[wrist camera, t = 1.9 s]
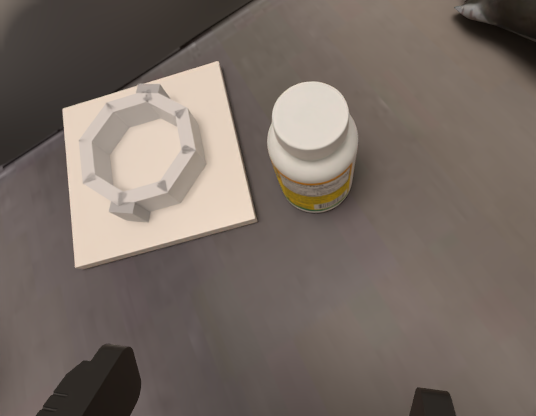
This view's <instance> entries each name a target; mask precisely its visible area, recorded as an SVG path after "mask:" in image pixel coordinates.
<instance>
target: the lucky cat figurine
mask: <svg viewBox="0 0 536 416" xmlns="http://www.w3.org/2000/svg"><path fill="white" fill-rule="evenodd" d="M454 8H455V9H456V10H457V11H458V12H460V13H461V14H462V15H463V16H465V17H466V18H468V19H471V20H475V21H479V22H483V23H488V24H492V25H495V26H498V27H500V28H503V29H506V30H508V31H511V32H513V33H515V34H518V35H520V36H522V37H525V38H527V39H529V40H531V41H534V42H536V0H466V3H465V4H464V5H462V6H456V7H454Z"/></svg>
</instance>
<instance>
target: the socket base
mask: <svg viewBox="0 0 536 416" xmlns="http://www.w3.org/2000/svg"><path fill="white" fill-rule="evenodd" d="M63 120H64V133H65V145H66V158H67V170H68V183H69V195H70V208H71V220H72V233H73V245H74V258H75V268H79V269H87V268H90V267H94V266H98V265H101V264H105V263H109V262H112V261H116V260H120V259H123V258H127V257H131V256H134V255H138V254H142V253H145V252H149V251H153V250H156V249H160V248H164V247H167V246H171V245H175V244H178V243H182V242H186V241H189V240H193V239H197V238H200V237H204V236H208V235H211V234H215V233H219V232H222V231H226V230H230V229H233V228H237V227H241V226H244V225H248V224H252V223H255V222H258V221H257V217H256V213H255V208H254V204H253V200H252V196H251V191H250V187H249V183H248V179H247V175H246V170H245V166H244V162H243V158H242V153H241V149H240V145H239V141H238V137H237V132H236V128H235V124H234V120H233V116H232V111H231V107H230V103H229V99H228V94H227V90H226V86H225V82H224V78H223V73H222V69H221V67H220V64H219V62H218V61H217V62H214V63H210V64H207V65H204V66H201V67H197V68H194V69H191V70H188V71H184V72H181V73H178V74H175V75H171V76H168V77H165V78H162V79H158V80H155V81H152V82H149V83H145V84H138V86H136V87H132V88H129V89H126V90H123V91H119V92H116V93H113V94H110V95H106V96H103V97H100V98H97V99H94V100H90V101H87V102H84V103H81V104H77V105H74V106H71V107H67V108H64V109H63Z"/></svg>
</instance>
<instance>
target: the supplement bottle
mask: <svg viewBox="0 0 536 416" xmlns="http://www.w3.org/2000/svg"><path fill="white" fill-rule="evenodd" d="M267 145H268V152H269V155H270V159H271V162H272V164H273V167H274V170H275V173H276V175H277V178H278V181H279V184H280V186H281V189H282V191H283V193H284V195H285V197H286V199H287V200H288V201H289V202H290V203H291V204H292V205H293V206H295V207H296V208H298V209H300V210H303V211H306V212H311V213H319V212H325V211H328V210H331V209H333V208H335V207H336V206H338V205H339V204H340V203H341V202H342V201H343V200H344V199H345V198H346V197H347V195H348V193H349V191H350V188H351V185H352V179H353V173H354V166H355V160H356V155H357V149H358V131H357V127H356V125H355V122H354V120H353V119H352V117H351V116H350V114H349V110H348V105H347V103H346V101H345V99H344V97H343V96H342V94H341V93H340V92H339V91H338V90H336V89H335V88H334V87H332V86H330V85H328V84H325V83H321V82H303V83H299V84H297V85H294V86H292V87H290V88H289V89H287V90H286V91H285V92H284V93H283V94H282V95H281V96H280V97H279V98H278V100H277V101H276V103H275V105H274V108H273V112H272V124H271V126H270V129H269V132H268V138H267Z"/></svg>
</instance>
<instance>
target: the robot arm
mask: <svg viewBox="0 0 536 416" xmlns="http://www.w3.org/2000/svg"><path fill="white" fill-rule="evenodd" d="M140 390H141V378H140V375H139V371H138V367H137V363H136V360H135V356H134V352H133V349H132V348H131V347H127V346H120V345H113V344H104V345H103V346H102V347H101V348H100V349H99V350H98V352H97V353H96V354H95V356H94V357H93V359H92V360H91V361H82V362H81V363H80V364H79V365H77V366H76V367H75V368H74V369H72V370H71V371H70V372H69V373H67V374H66V376H65V377H64V378H63V380H62V381H61V382H60V384H59V385H58V386H57V388H56V389H55V390H54V393H53V395H51V396H50V397H49V399H48V400H47V401H46V403H45V404H44V405H43V409H42V410H40V411H39V412H38V413H37V415H36V416H130V415H131V413H132V411H133V409H134V407H135V405H136V403H137V401H138V398H139V395H140ZM409 416H456V415H455V411H454V407H453V403H452V399H451V396H450V394H449V393H448V392H447V391H440V390H433V389H426V388H417V389H416V391H415V395H414V399H413V403H412V407H411V411H410V415H409Z"/></svg>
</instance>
